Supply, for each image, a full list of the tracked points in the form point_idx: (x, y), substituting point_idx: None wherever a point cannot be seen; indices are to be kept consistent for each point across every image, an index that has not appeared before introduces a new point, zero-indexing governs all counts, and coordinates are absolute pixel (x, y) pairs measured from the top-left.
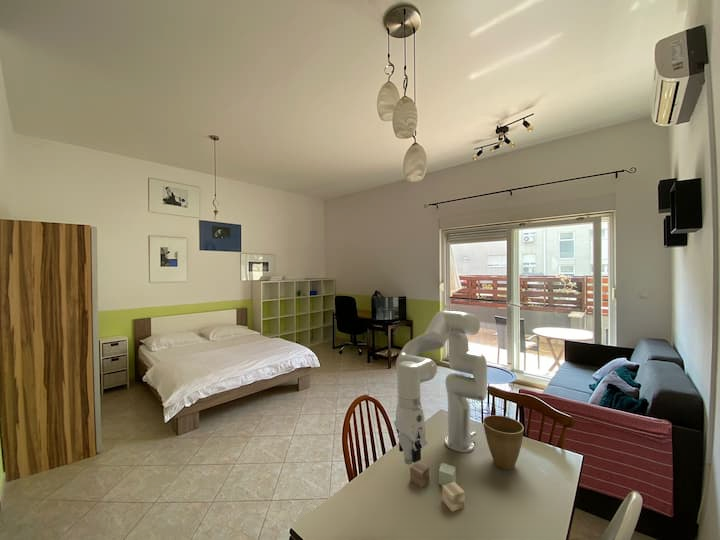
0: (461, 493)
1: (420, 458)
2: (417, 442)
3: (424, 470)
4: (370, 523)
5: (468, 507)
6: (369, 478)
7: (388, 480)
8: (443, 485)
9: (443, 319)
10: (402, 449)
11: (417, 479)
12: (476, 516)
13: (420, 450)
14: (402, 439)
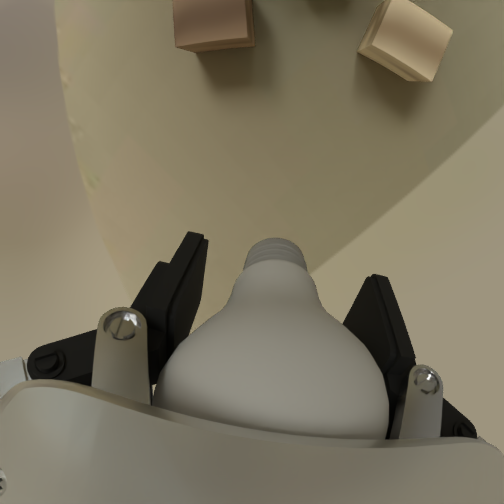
0: (447, 42)
1: (387, 283)
2: (388, 409)
3: (242, 11)
4: None
5: None
6: (98, 172)
7: (140, 123)
8: (375, 41)
9: None
10: (199, 295)
11: (227, 45)
12: (467, 57)
13: (405, 332)
14: None
